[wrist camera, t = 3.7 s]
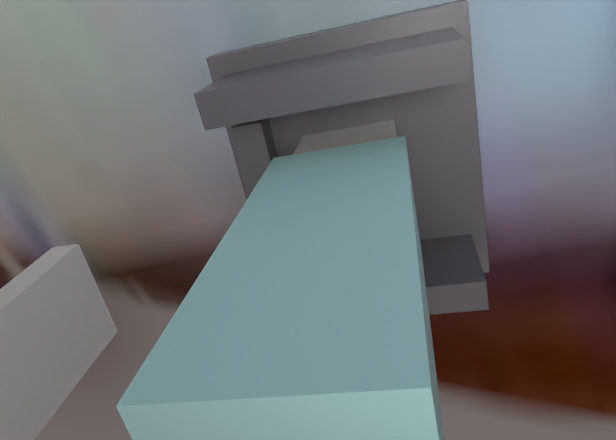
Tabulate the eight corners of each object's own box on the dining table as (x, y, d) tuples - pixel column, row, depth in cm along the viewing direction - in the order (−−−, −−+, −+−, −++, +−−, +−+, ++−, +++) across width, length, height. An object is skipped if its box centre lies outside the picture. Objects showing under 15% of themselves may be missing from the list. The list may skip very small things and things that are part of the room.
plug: (314, 225, 18) (206, 591, 7) (292, 128, 17) (116, 406, 6) (417, 212, 17) (463, 598, 7) (402, 109, 16) (432, 387, 5)
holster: (279, 281, 20) (256, 345, 17) (216, 54, 17) (169, 75, 13) (484, 257, 19) (507, 324, 15) (463, -1, 15) (485, 6, 12)
